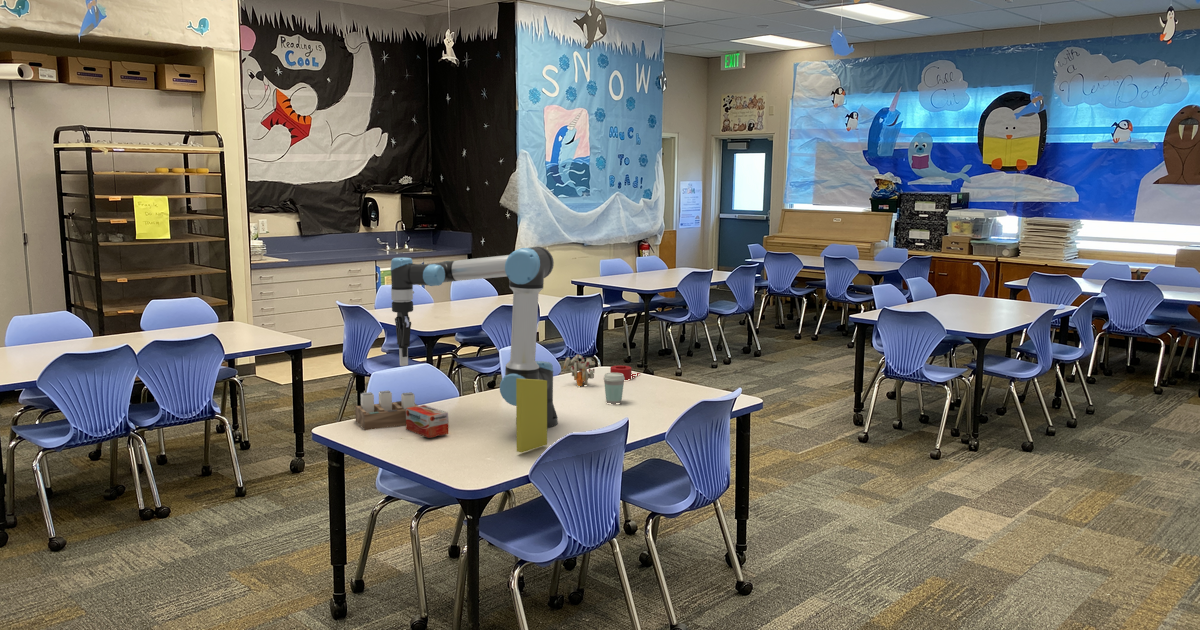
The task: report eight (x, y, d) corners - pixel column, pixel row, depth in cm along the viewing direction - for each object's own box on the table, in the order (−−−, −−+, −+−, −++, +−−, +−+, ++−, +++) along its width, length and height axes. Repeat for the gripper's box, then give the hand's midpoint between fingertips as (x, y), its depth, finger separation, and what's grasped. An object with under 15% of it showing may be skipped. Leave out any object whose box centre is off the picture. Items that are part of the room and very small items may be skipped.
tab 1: (374, 413, 309) (373, 393, 308) (363, 414, 307) (362, 394, 306) (372, 411, 312) (371, 391, 311) (361, 413, 310) (360, 393, 309)
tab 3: (414, 413, 310) (414, 393, 309) (404, 414, 308) (403, 394, 307) (412, 411, 312) (412, 391, 311) (401, 413, 311) (401, 393, 310)
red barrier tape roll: (622, 385, 376) (622, 370, 375) (605, 382, 382) (606, 367, 381) (647, 379, 390) (647, 364, 389) (630, 376, 396) (631, 362, 395)
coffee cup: (627, 405, 338) (627, 376, 337) (606, 407, 336) (606, 377, 335) (621, 400, 346) (621, 371, 345) (600, 402, 344) (601, 372, 343)
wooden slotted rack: (420, 423, 309) (420, 407, 308) (365, 430, 300) (364, 413, 299) (409, 414, 321) (409, 399, 320) (355, 421, 312) (355, 404, 311)
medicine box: (449, 434, 296) (448, 411, 295) (429, 438, 290) (428, 415, 289) (424, 425, 307) (424, 404, 306) (404, 430, 301) (404, 407, 300)
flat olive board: (542, 443, 286) (542, 372, 283) (547, 444, 284) (547, 373, 281) (516, 451, 276) (516, 378, 273) (521, 452, 275) (521, 379, 272)
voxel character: (596, 388, 368) (596, 354, 366) (584, 392, 360) (584, 357, 358) (574, 385, 374) (574, 351, 372) (562, 389, 366) (562, 354, 364)
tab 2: (392, 411, 312) (391, 391, 311) (381, 412, 311) (380, 392, 310) (390, 409, 315) (389, 390, 314) (379, 411, 313) (378, 391, 312)
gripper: (417, 302, 305) (419, 367, 308) (407, 298, 316) (408, 361, 319) (397, 303, 301) (398, 369, 304) (387, 299, 312) (388, 363, 315)
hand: (403, 365), depth 312 cm, fingers closed
